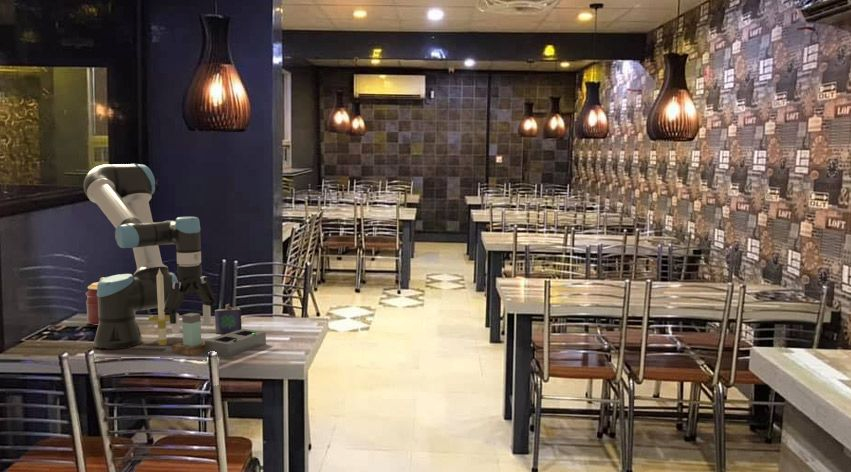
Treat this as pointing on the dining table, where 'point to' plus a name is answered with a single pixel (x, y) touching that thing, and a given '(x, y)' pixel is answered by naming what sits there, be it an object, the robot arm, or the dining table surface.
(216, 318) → the flask
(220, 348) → the port panel
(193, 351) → the square wooden tray
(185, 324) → the green square bottle
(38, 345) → the dining table surface
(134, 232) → the robot arm
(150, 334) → the dining table surface
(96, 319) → the canister
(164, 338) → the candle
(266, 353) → the dining table surface
